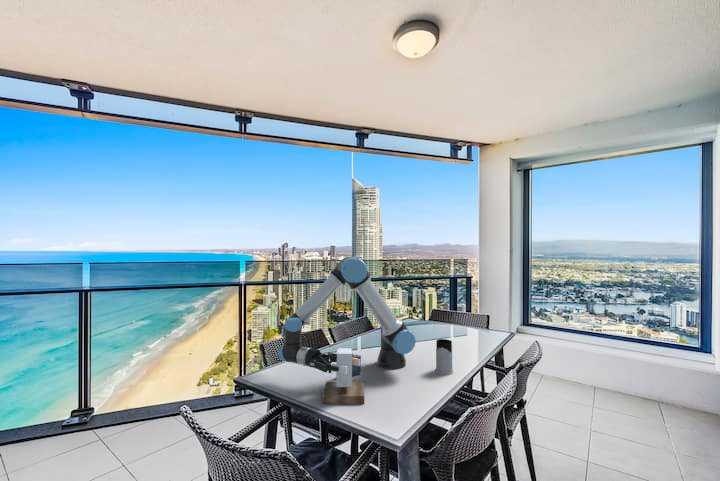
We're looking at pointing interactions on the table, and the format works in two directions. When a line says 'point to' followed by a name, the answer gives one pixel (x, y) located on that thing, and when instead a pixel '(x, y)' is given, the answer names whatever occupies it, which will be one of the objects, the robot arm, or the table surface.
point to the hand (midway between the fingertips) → (353, 366)
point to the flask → (356, 369)
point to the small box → (345, 360)
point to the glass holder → (444, 357)
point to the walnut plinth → (343, 394)
